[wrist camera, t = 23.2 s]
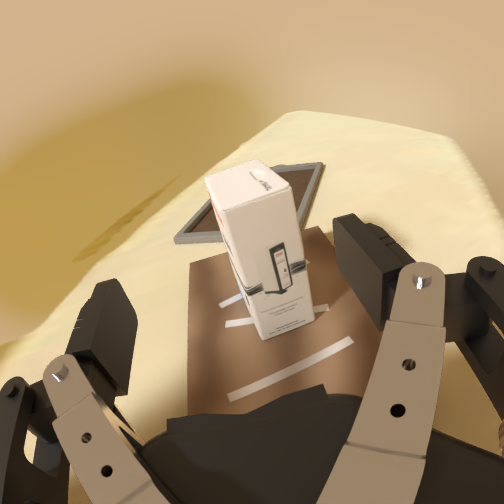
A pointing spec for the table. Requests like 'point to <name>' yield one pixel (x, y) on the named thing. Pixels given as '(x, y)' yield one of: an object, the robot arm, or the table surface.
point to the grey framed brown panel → (298, 176)
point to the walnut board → (274, 338)
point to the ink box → (263, 245)
